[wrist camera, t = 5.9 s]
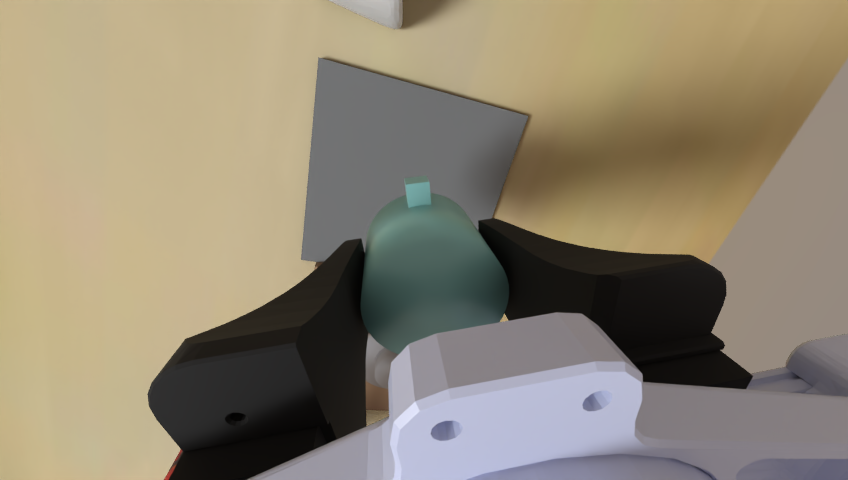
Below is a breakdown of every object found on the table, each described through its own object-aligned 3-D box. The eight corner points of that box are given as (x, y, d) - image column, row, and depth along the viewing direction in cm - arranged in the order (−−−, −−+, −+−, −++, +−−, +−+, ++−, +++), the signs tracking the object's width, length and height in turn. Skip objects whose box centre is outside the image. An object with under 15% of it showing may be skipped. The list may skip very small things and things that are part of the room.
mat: (525, 115, 18) (528, 116, 18) (467, 279, 23) (468, 282, 23) (320, 58, 16) (318, 57, 15) (302, 256, 21) (301, 259, 20)
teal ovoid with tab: (475, 294, 14) (505, 362, 11) (378, 309, 14) (377, 384, 11) (473, 165, 12) (513, 200, 8) (352, 180, 11) (339, 223, 8)
